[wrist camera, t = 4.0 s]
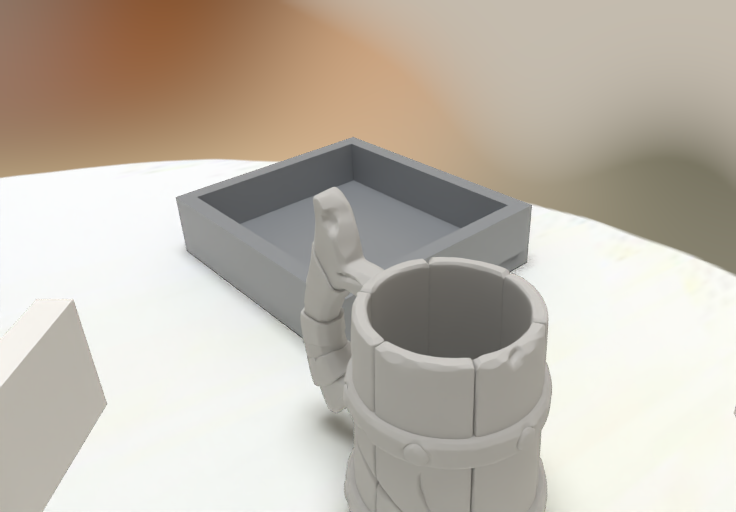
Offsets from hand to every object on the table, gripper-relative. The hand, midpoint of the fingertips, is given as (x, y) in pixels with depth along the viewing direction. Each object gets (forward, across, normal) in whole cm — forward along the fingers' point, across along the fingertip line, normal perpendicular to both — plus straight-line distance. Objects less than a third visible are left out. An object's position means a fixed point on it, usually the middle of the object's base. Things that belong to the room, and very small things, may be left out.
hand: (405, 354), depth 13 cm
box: (+28, -5, -14) cm, 31 cm away
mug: (+9, 0, -14) cm, 17 cm away
